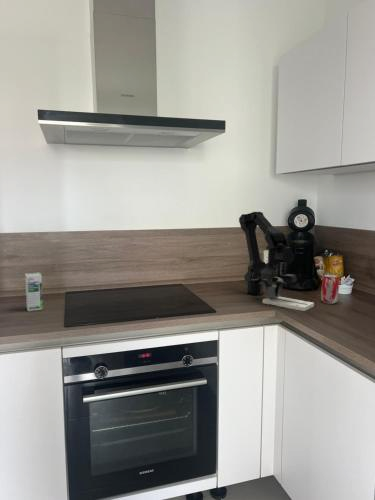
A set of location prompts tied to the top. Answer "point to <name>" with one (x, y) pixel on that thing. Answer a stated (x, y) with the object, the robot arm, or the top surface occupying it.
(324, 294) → the soda can
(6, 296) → the top surface
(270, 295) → the fader knob
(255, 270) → the robot arm
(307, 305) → the fader panel
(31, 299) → the syrup box
